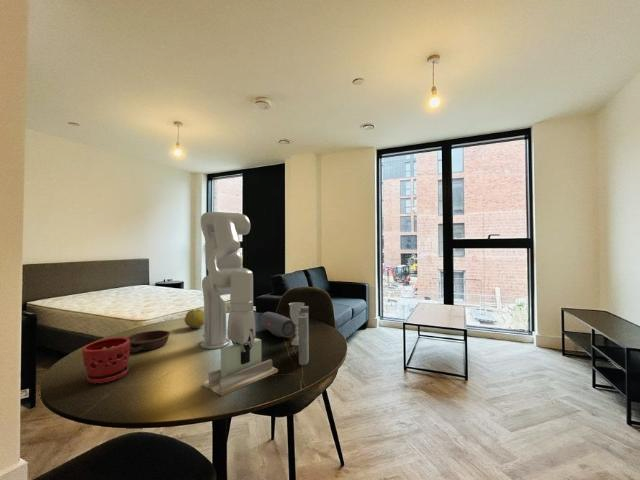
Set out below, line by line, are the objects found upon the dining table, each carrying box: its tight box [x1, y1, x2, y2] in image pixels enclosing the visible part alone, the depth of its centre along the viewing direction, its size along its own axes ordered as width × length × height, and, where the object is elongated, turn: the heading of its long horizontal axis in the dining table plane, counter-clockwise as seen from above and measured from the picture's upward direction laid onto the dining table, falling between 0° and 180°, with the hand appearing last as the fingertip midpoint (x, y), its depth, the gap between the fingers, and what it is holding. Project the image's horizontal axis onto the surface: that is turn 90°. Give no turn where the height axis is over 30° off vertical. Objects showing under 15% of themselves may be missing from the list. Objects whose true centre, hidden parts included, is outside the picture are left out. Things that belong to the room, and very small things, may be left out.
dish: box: [126, 329, 171, 353], centre depth 135 cm, size 18×22×5 cm
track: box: [202, 358, 279, 397], centre depth 101 cm, size 11×22×4 cm, turn 140°
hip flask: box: [298, 305, 310, 366], centre depth 119 cm, size 16×4×20 cm, turn 3°
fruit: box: [184, 308, 204, 329], centre depth 164 cm, size 11×12×10 cm
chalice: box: [288, 301, 305, 346], centre depth 136 cm, size 7×7×18 cm
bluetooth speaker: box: [259, 311, 296, 338], centre depth 151 cm, size 23×9×10 cm, turn 36°
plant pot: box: [82, 336, 131, 384], centre depth 102 cm, size 13×13×12 cm
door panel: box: [220, 337, 263, 377], centre depth 101 cm, size 3×14×9 cm, turn 140°
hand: (242, 361), depth 101 cm, fingers closed on door panel, 3 cm apart
